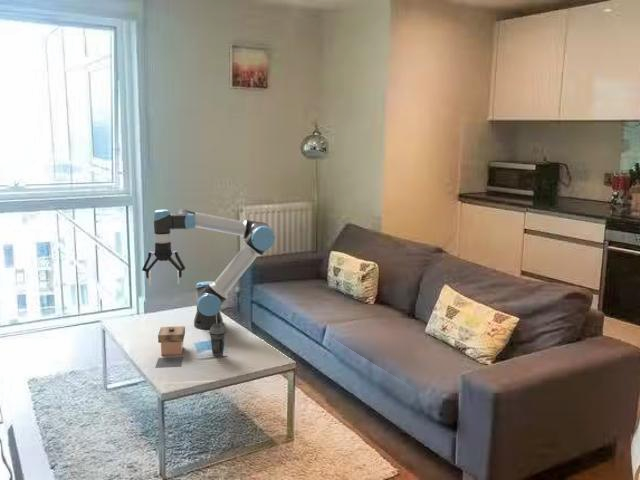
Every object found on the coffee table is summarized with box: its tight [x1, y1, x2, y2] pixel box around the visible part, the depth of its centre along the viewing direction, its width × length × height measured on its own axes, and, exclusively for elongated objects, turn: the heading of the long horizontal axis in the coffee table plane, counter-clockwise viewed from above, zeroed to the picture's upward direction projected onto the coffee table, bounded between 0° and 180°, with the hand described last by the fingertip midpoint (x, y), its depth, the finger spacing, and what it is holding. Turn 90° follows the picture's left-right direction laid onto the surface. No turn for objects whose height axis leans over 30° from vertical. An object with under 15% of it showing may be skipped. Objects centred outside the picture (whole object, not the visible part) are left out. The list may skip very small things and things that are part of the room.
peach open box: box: [160, 341, 184, 356], centre depth 272 cm, size 9×9×7 cm
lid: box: [157, 325, 186, 344], centre depth 271 cm, size 11×11×4 cm
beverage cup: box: [209, 314, 226, 358], centre depth 267 cm, size 7×7×20 cm
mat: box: [155, 356, 184, 369], centre depth 260 cm, size 11×11×1 cm
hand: (164, 284), depth 288 cm, fingers open, 13 cm apart
